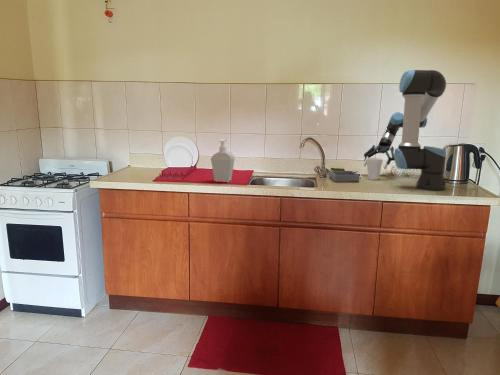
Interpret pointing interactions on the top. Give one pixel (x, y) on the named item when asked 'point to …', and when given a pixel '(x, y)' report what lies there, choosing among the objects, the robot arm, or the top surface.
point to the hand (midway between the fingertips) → (374, 166)
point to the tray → (344, 176)
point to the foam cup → (374, 168)
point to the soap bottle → (222, 164)
